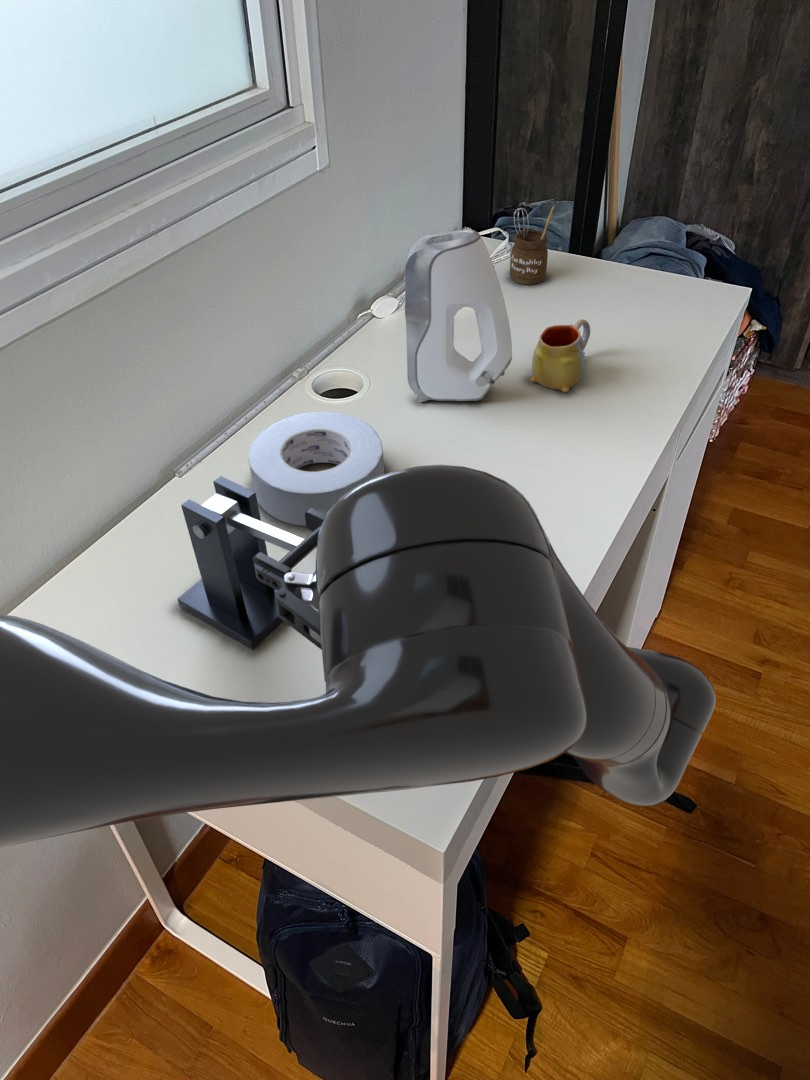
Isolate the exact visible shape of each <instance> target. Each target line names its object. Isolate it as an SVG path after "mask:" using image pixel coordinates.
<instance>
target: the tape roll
mask: <svg viewBox="0 0 810 1080" xmlns="http://www.w3.org/2000/svg"><path fill="white" fill-rule="evenodd" d="M317 463H319V464H320V463H328V464H334V465H335V466H333V467H331V468H327V469H324V470H323V469H322V470H317V471H307V470H303V469H301V468H302V467H305V466H308V465H312V464H317ZM248 465H249V470H250V475H251V481H252V486H253V492H255V493H256V498H257V503H258V506H260V507H261V508H262V509H263V510H264V511H265V512H266V513H267V514H268V515H270V516H271V517H272V518H275V519H276V520H278V521H280V522H283V523H286V524H290V525H293V526H294V525H295V526H300V527H307V526H306V521H305V513H306V512H307V511H308V510H309V509H310V508H314V509H316V510H318V509H321V510H325V511H327V512H328V511H329V510H330V509H331V508H332V507H333V506H334V504H335V503H336V502H337V501H338V500H339V499H340V498H341V497H342V496H343V495H345V494H346V493H348V492H349V491H350V490H352V489H353V488H355V487H356V486H358V485H360V484H362V483H364V482H366V481H368V480H371V479H373V478H375V477H378V476H381V475H384V474H385V465H384V448H383V444H382V439H381V438H380V435H379V433H378V432H377V431H376V430H375V427H372V426H371V425H370V424H369V423H368V422H367V421H364V420H362V419H360V418H357V417H355V416H353V415H349V414H345V413H341V412H335V411H334V412H333V411H311V412H301V413H298V414H294V415H290V416H287V417H285V418H283V419H280V420H278V421H276V422H275V423H273V424H271V425H269V426H268V427H266V428H265V429H264V430H263V431H261V432H260V433H259V434H258V435H257V436H256V438H255V439H254V440H253V441H252V444H251V445H250V447H249V450H248Z"/></svg>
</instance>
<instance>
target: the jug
mask: <svg viewBox="0 0 810 1080" xmlns="http://www.w3.org/2000/svg"><path fill="white" fill-rule="evenodd" d="M404 290H405V291H404V317H405V329H406V330H405V331H406V332H405V333H406V336H405V337H406V370H407V373H406V374H407V383H408V387H409V388H410V389H411V391H412V392H413V394H415V395H417V401H418V403H424V402H427V401H431V400H432V401H437V402H438V401H440V402H441V401H443V402H444V401H445V402H447V401H448V402H458V401H459V402H478V401H480V400H482V399H483V398H484V397H485V396H486V395H487V394H488V392H489V391H490V390H491V389H492V387H493V386H494V385H495V383H496V382H497V381H498V380H500V378H501V377H503V376H504V375H505V373H506V370H507V369H508V368H509V366H510V364H511V363H512V360H513V346H512V345H513V344H512V333H511V327H510V321H509V320H510V319H509V315H508V311H507V305H506V302H505V298H504V294H503V291H502V288H501V284H500V280H499V277H498V274H497V272H496V269H495V266H494V263H493V260H492V257H491V255H490V253H489V250H488V248H487V246H486V244H485V242H484V239H483V237H482V235H481V234H480V233H479V232H478V231H476V230H474V229H456V230H455V229H454V230H448V231H442V232H435V233H431V234H428V235H425V236H422V237H421V238H419V239H418V240H417V241H416V242H414V244H413V245H412V246H411V248H410V250H409V252H408V257H407V260H406V263H405V266H404ZM461 308H471V309H473V311H474V314H475V318H476V322H477V328H478V333H479V341H480V349H481V350H480V353H479V354H478V355H477V357H476V358H475V359H474V360H472V361H471V360H469V359H468V358H466V357H465V356H464V355H462V354H461V353H460V352H458V350H457V349H456V348H455V343H454V342H455V316H456V315H457V314H458V312H459V311H460V309H461Z"/></svg>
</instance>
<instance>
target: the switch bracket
mask: <svg viewBox="0 0 810 1080" xmlns="http://www.w3.org/2000/svg"><path fill="white" fill-rule="evenodd" d="M212 483H213V487H214V491H215V494H216V493H218V494H220V495H223V496H225V497H228V498H230V499H233V500H235V501H238V503H239V506H240V510H241V513H242V514H245V515H247V516H250V517H252V518H254V519H257V520H259V521H262V518H261V514H260V509H259V503H258V501H257V498H256V493H255V492H254V490H251V489H250V488H248V487H245V486H244V485H241V484H238V483H237V482H234V481H233V480H230V479H228V478H226V477H224V476H222V475H220V476H219V477H217V478H216V479H214V480H213V482H212ZM201 505H202V504H199V503H197V502H195V501H193V500H191V499H187V500H186V501H184V502H183V503H181V510H182V514H183V517H184V520H185V524H186V528H187V531H188V535H189V538H190V542H191V546H192V549H193V553H194V557H195V560H196V563H197V567H198V571H199V574H200V578H201V579H199V580H198V581H197V582H196V583H195V584H194V585H193V586H191V587H190V588H188V590H186V591H184V593H182V594H181V595H180V596H179V597H178V598H177V603H178V606H179V608H180V609H182V610H183V611H185V612H186V613H188V614H190V615H192V616H194V617H195V618H197V619H199V620H201V621H202V622H204V623H205V624H207V625H209V626H210V627H212V628H214V629H215V630H217V631H219V632H221V633H222V634H225V635H226V636H227V637H229V638H231V639H232V640H234V641H236V642H238V643H239V644H241V645H243V646H245V647H246V648H248V649H249V650H251V651H254V650H255V649H256V648H257V647H258V646H260V644H261V643H262V642H263V641H265V639H267V638H268V637H269V636H270V635H271V634H272V633H273V632H274V631H275V630H276V629H277V628H278V627H279V626H280V625H282V624H283V623H284V621H283V620H282V619H280V618H279V616H278V607H277V602H276V599H275V592H276V591H277V590H275V589H273V588H271V587H270V586H268V585H266V584H265V583H262V582H261V581H259V580H258V579H257V577H256V573H255V568H254V563H253V557H254V556H255V555H256V554H258V553H259V552H261V553H263V554H265V555H267V556H269V554H268V553H269V552H268V549H267V548H268V547H267V544H266V541H265V540H262V539H260V538H258V537H255V536H253V535H251V534H248V533H246V532H244V531H241V530H239V529H234V530H233V531H232V532H231V533H229V534H228V531H227V527H226V523H225V518H224V517H223V516H221V515H219V514H217V513H215V512H213V511H211V510H209V509H207V508H205V507H203V506H201Z"/></svg>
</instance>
